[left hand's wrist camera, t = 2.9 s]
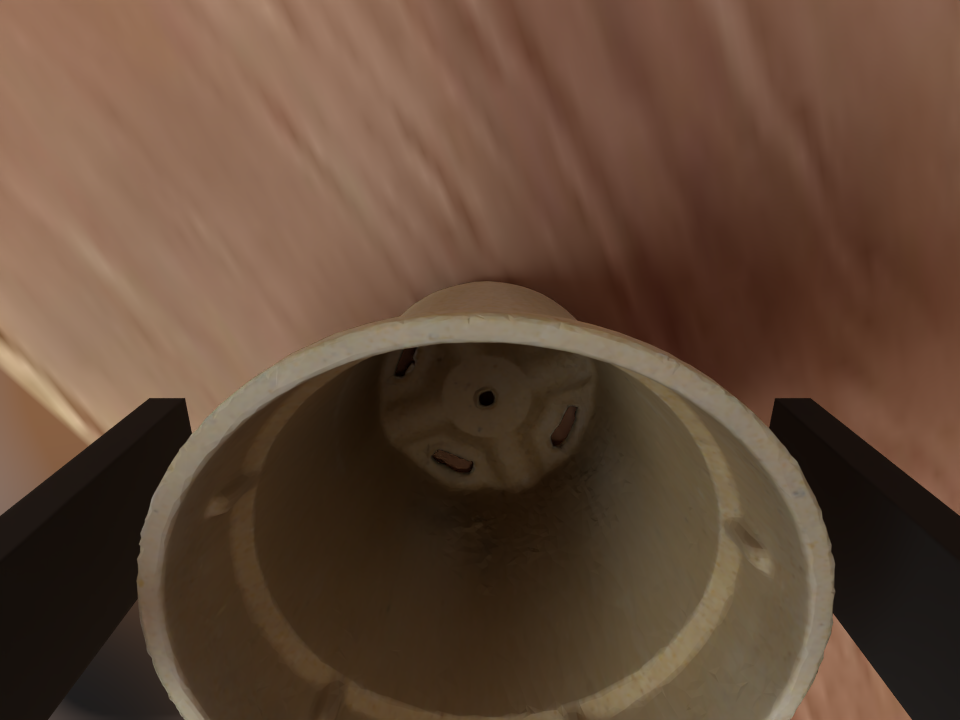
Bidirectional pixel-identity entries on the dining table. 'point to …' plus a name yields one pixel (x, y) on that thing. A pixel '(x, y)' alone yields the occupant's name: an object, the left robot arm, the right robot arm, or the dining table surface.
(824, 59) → the dining table surface
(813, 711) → the dining table surface
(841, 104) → the dining table surface
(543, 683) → the beige plant pot
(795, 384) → the dining table surface
